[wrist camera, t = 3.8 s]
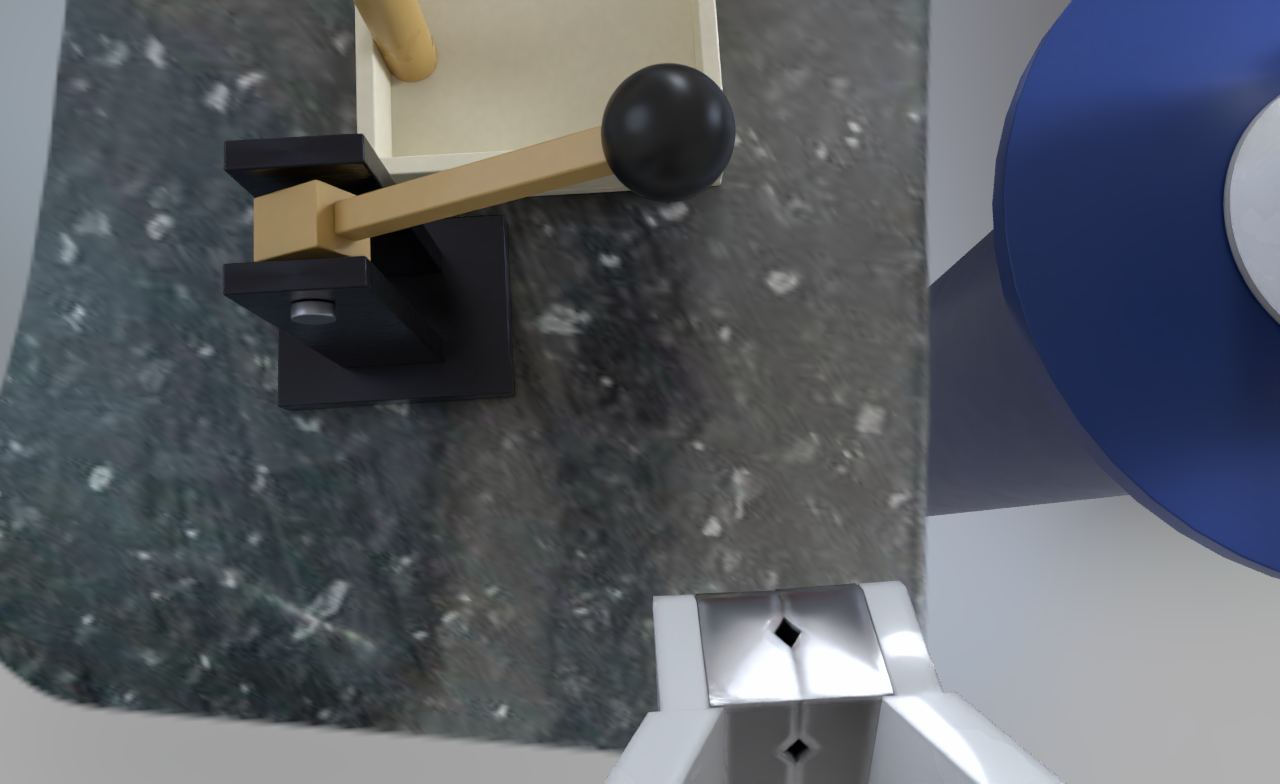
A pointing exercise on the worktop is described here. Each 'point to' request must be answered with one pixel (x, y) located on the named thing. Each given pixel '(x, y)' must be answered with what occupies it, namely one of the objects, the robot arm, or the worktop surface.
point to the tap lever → (523, 170)
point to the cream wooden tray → (521, 76)
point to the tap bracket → (377, 293)
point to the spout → (401, 37)
